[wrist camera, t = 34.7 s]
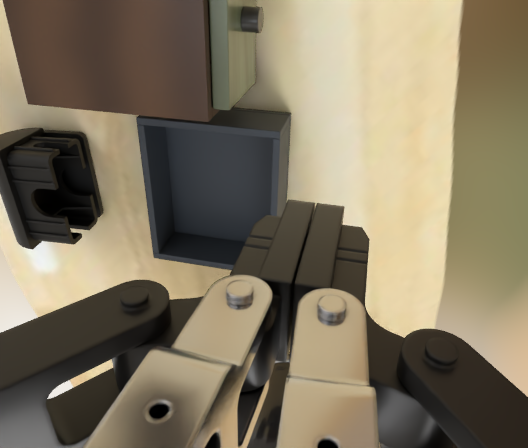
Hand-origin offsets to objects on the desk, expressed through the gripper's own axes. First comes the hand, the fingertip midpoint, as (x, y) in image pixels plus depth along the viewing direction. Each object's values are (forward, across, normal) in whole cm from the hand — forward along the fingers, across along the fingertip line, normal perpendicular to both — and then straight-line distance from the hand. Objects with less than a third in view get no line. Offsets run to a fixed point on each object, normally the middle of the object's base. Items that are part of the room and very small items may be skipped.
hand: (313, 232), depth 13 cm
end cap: (+27, +28, +14) cm, 41 cm away
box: (+27, +11, +12) cm, 32 cm away
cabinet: (+27, +16, -2) cm, 31 cm away
